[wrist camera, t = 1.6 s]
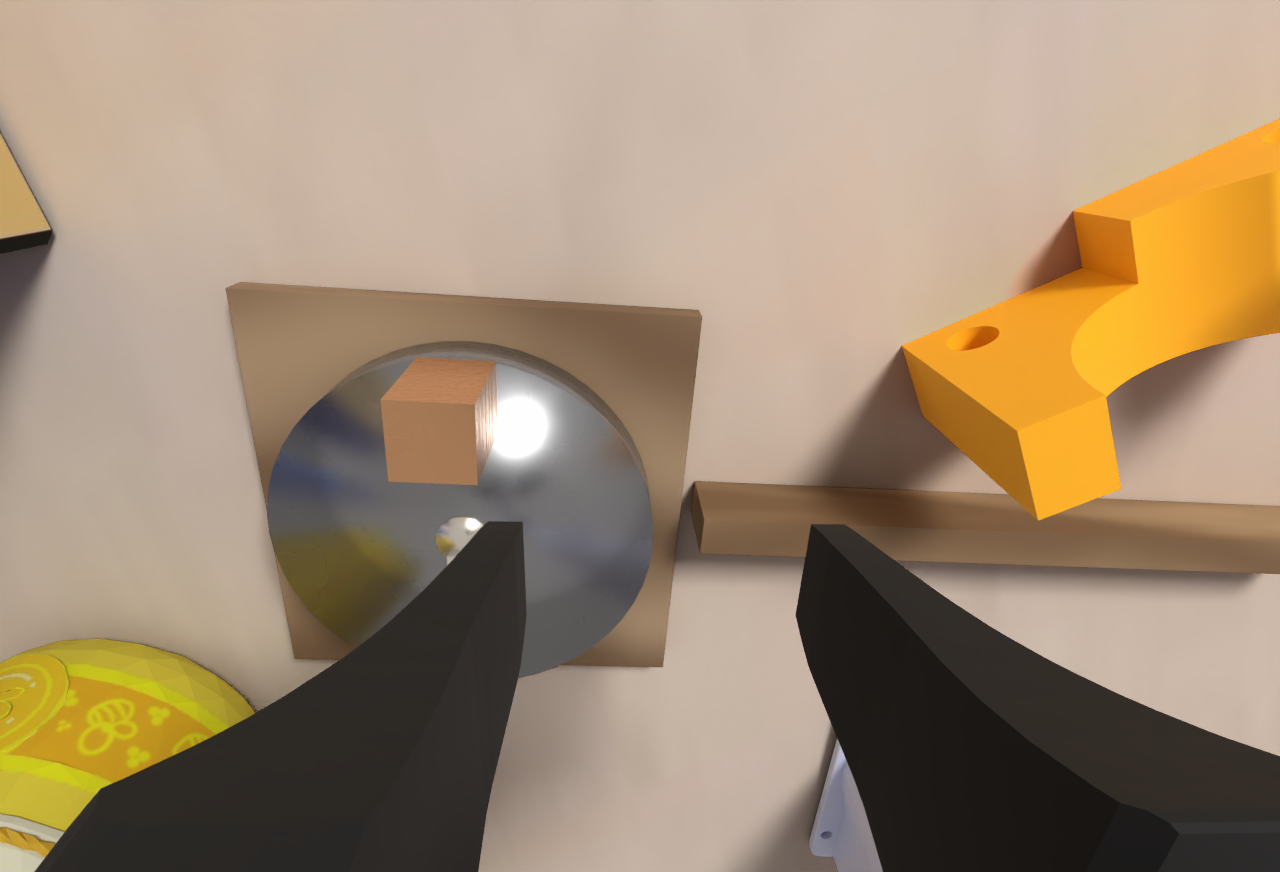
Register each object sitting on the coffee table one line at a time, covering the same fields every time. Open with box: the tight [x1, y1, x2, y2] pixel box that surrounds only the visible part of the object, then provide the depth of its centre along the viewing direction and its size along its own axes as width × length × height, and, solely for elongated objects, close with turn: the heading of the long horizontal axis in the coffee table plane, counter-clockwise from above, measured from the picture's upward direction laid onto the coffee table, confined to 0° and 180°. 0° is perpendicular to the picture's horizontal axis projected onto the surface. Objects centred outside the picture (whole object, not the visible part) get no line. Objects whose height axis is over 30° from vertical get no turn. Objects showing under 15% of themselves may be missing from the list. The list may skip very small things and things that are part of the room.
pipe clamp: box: [902, 119, 1280, 521], centre depth 17 cm, size 12×4×6 cm, turn 115°
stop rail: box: [691, 481, 1280, 574], centre depth 22 cm, size 1×22×2 cm, turn 86°
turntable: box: [267, 341, 653, 678], centre depth 19 cm, size 11×11×5 cm
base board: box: [226, 282, 702, 667], centre depth 21 cm, size 13×13×1 cm
